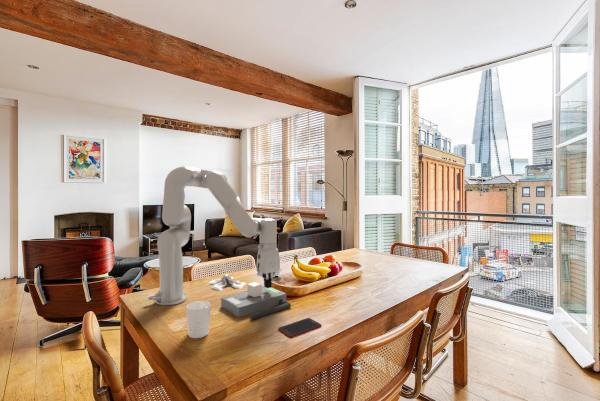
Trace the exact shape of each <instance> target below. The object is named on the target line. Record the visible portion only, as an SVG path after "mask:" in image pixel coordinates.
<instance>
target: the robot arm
mask: <svg viewBox="0 0 600 401" xmlns="http://www.w3.org/2000/svg"><path fill="white" fill-rule="evenodd" d="M186 187H195V188H203V189H208V190H209V192H210V193H211V194H212V196H213V197H214V198H215V200H217V202H218V203H219V205H220V206H221V207H222V208H223V211H224V212H225V214H226V215H227V217H228V218H229V220H230V222H232V224H233V225H234V226H235V228H236V229H237V230H238V231H239V232H240V234H241V235H242V236H244V237H246V238H252V237H254V236H255V235H256V234H259V245H258V244H257V249H258V251H257V255H256V256H257V257H256V272H257V276H258V277H261V278H262V279H263V287H266V288H271V287H272V283H273V282H272V279H274V278H273V275H274V274H275V273H277V272H278V270H279V269H280V268H281V261H280V258H281V257H280V253H279V248H277V238H278V237H277V235H278V234H277V232H278V228H277V226H278V223H277V219H275V218H269V217H267V218H258V217H251V216H250V215H249V213H248V212H247V210H246V209H245V207H244V206H243V204H242V201H241V198H240V195H239V194H238V193H237V192H236V190H235V189H234V188H233V186H232V185H231V184H230V183H229V181H228V177H227V176H226V175H225V174H224V172H221V171H219V170H218V171H217V170H209V169H202V168H195V167H191V166H185V165H183V166H179V167H176V168H174V169H172V170H171V171H170V172H168V174H167V176H166V178H165V180H164V188H163V189H164V190H163V200H162V212H161V219H162V222H163V224H164V225H166V226H168V227H169V228H168V229H166V230H164V231H163V232H161V233H160V234H159V236H158V238H157V240H156V242H157V244H156V246H157V251H158V258H159V259H158V260H159V261H158V262H159V263H158V265H159V267H158V268H159V290H157V293H154V294H150V295H147V297H146V298H147V301H155V303H156V304H157V305H158V306H159V305H160V306H174V305H179V304H181V303H183V302H185V301H186V300H187V297H188V296H187V294H186V293H184V262H183V261H184V260H183V259H184V258H183V251H182V247H184V246H185V245H186V244H188V242H189V240H190V236H191V224H192V223H191V222H192V214H191V210H190V208H189V207H188V206H187V205H185V196H186V192H185V188H186Z"/></svg>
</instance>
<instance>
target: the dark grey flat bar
mask: <svg viewBox="0 0 600 401" xmlns="http://www.w3.org/2000/svg"><path fill="white" fill-rule="evenodd" d="M279 303H280V304H279V305H276V306H273V307H270V308H267V309H264V310H261V311H258V312H255V313H251V314H249V320H252V321H253V320H256V319H260V318H264V317H265V316H268V315H272V314H275V313H277V312H281V311H283V310H286V309H288V308H291V307H292V305H291V303H290V302H288V301H287V300H286V301H284V300H280V302H279Z"/></svg>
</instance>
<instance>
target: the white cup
mask: <svg viewBox="0 0 600 401" xmlns="http://www.w3.org/2000/svg"><path fill="white" fill-rule="evenodd" d="M185 306H186V307H185V308H186V325H187V335H188V337H189V338H191V339H201V338H203V337H206V336H207V335H209V333H210V325H211V324H210V323H211V321H210V320H211V307H212V306H211V302H209V301H207V300H197V301H196V300H195V301H192V302H189V303H188V304H186V305H185Z"/></svg>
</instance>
